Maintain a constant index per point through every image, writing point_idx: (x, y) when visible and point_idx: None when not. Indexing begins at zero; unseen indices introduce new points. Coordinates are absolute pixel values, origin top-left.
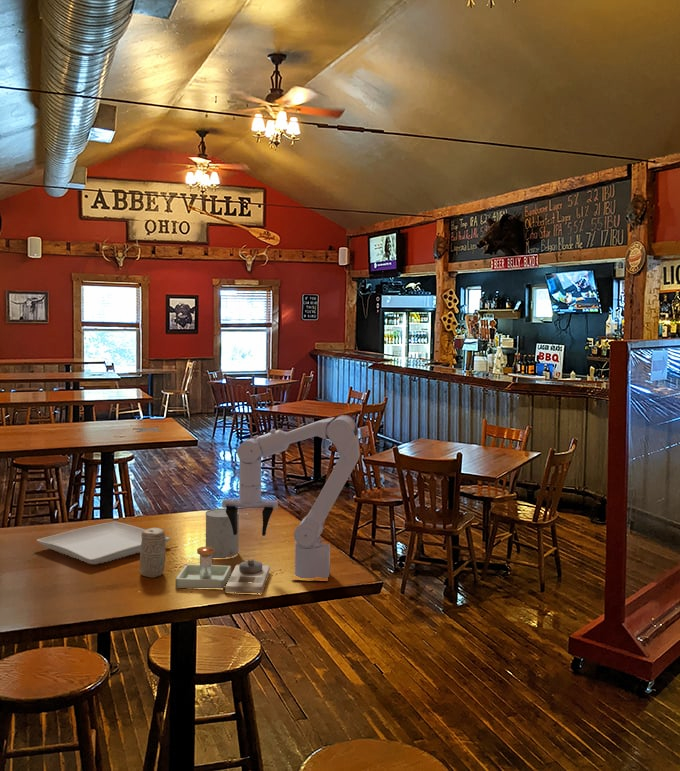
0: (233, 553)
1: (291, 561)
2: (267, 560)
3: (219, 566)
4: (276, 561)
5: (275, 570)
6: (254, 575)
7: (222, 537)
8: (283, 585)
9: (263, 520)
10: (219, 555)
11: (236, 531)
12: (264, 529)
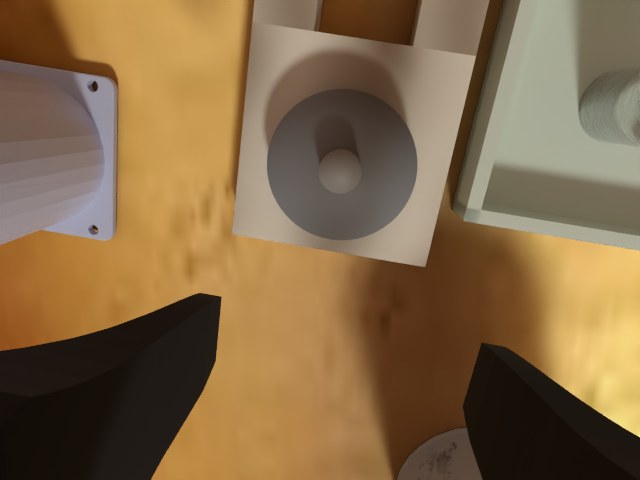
0: (427, 461)
1: None
2: (258, 396)
3: (536, 219)
4: (214, 379)
5: (214, 257)
6: (321, 63)
7: None
8: (161, 19)
9: (123, 356)
10: None
11: (483, 381)
12: (171, 308)
